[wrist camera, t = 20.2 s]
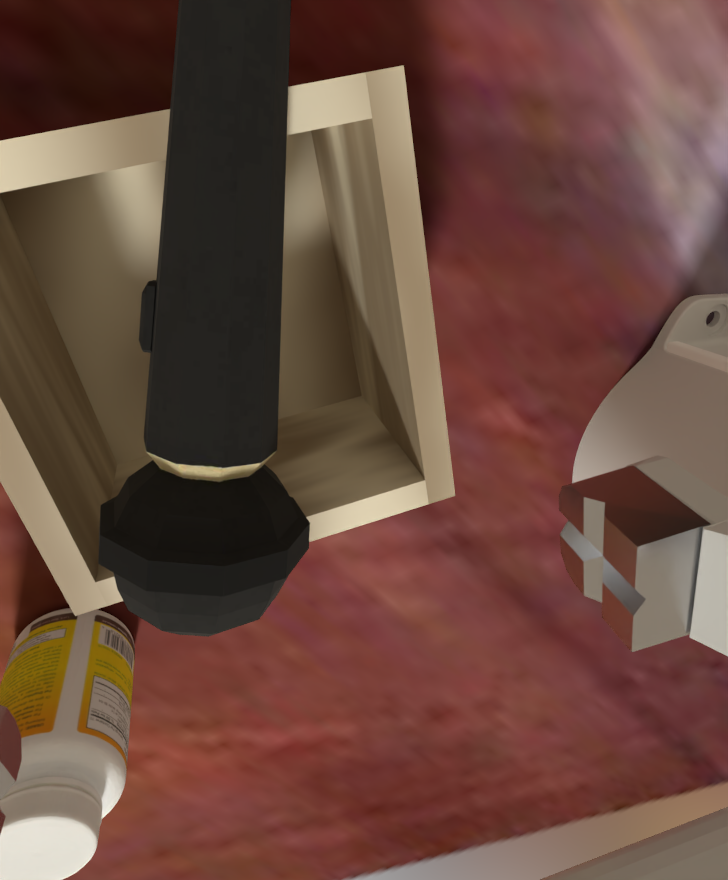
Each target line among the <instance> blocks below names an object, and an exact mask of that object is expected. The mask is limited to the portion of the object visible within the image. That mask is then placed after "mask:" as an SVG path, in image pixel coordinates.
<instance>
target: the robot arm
mask: <svg viewBox="0 0 728 880" xmlns="http://www.w3.org/2000/svg"><path fill="white" fill-rule="evenodd" d="M713 311H714V318H713V320H712V321H711V322H710V323H709V324H706V319H707V317H708V315H709V314H710V313H711V312H713ZM559 511H560V512H561V513H562V514H563V515H564V516H565V517H566V518H567V519H568V522H567V524H566V525H565V527H564V529H563V530H562V532H561V533H560V546H561V554H562V557H563V560H564V563H565V567H566V570H567V572H568V573H569V575H570V577H571V579H572V580H573V582H574V584H575V585H576V586H577V587H578V589H579V590H580V591H581V592H582V594H583V595H584V596H587V597H589V598H592V599H594V600H597V601H599V602H602V618H603V619H604V620H605V621H606V622H607V624H608V625H609V626H610V627H611V628H612V630H613V631H614V632H615V633H616V634H617V635H618V637H619V638H620V639H621V640H622V641H623V643H624V644H625V645H626V646H627V647H628V648H629V650H630V651H631V652H634V651H637V650H640V649H643V648H647V647H650V646H653V645H656V644H659V643H663V642H666V641H669V640H672V639H676V638H679V637H682V636H685V635H688V634H690V638H692V639H694V640H696V641H698V642H700V643H702V644H704V645H706V646H708V647H710V648H712V649H714V650H716V651H718V652H720V653H722V654H724V655H726V656H728V293H726V294H708V295H695V296H691V297H688V298H686V299H685V300H683V301H682V302H681V303H680V304H679V305H678V306H677V307H676V308H675V309H674V311H673V312H672V314H671V315H670V317H669V318H668V320H667V321H666V323H665V324H664V326H663V328H662V330H661V331H660V333H659V335H658V337H657V338H656V340H655V342H654V344H653V346H652V347H651V349H650V350H649V351H648V352H647V353H646V355H645V356H644V357H643V358H642V359H641V360H640V361H639V362H638V363H637V364H636V365H635V366H634V367H633V368H632V369H631V370H630V371H629V372H628V373H627V374H626V375H625V376H624V377H623V378H622V379H621V380H620V381H619V382H618V383H617V384H616V385H615V386H614V388H613V389H612V390H611V391H610V392H609V394H608V395H607V396H606V398H605V399H604V400H603V402H602V403H601V405H600V406H599V407H598V409H597V410H596V412H595V414H594V415H593V417H592V419H591V420H590V422H589V424H588V426H587V428H586V430H585V432H584V435H583V437H582V439H581V442H580V445H579V448H578V451H577V454H576V458H575V463H574V468H573V478H572V483H571V484H568V485H565V486H562V488H561V491H560V494H559ZM21 761H22V748H21V734H20V731H19V728H18V725H17V722H16V720H15V718H14V717H13V715H12V714H11V712H10V711H9V710H8V708H7V707H5V706H2V705H0V800H1V799H2V798H3V797H4V795H5V794H6V793H7V792H8V791H9V789H10V788H11V787H12V786H13V785H14V783H15V782H16V779H17V776H18V772H19V768H20V764H21ZM5 817H6V816H5V814H4V813H3V811H2V809H1V807H0V834H1V831H2V827H3V824H4V821H5ZM540 880H728V807H726V808H724V809H721V810H719V811H716V812H714V813H711V814H709V815H706V816H703V817H701V818H698V819H696V820H693V821H690V822H688V823H685V824H683V825H680V826H677V827H675V828H672V829H670V830H667V831H664V832H662V833H659V834H657V835H654V836H652V837H649V838H646V839H644V840H641V841H639V842H636V843H634V844H631V845H628V846H626V847H623V848H621V849H618V850H615V851H613V852H610V853H608V854H605V855H602V856H600V857H597V858H595V859H592V860H590V861H587V862H584V863H582V864H580V865H577V866H574V867H571V868H569V869H566V870H564V871H561V872H559V873H556V874H553V875H551V876H548V877H546V878H543V879H540Z"/></svg>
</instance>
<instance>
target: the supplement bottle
mask: <svg viewBox="0 0 728 880" xmlns="http://www.w3.org/2000/svg"><path fill="white" fill-rule="evenodd" d="M134 659H135V647H134V641H133V638H132V635H131V633H130V631H129V630H128V628H127V627H126V626H125V625H124V624H123V623H122V622H121V621H120V620H119V619H117V618H116V617H114V616H112V615H110V614H108V613H106V612H103V611H100V610H93V611H90V612H87V613H84V614H81V615H77V616H75V615H74V613H73V611H72V610H71V608H66V609H61V610H57V611H53V612H50V613H48V614H45V615H43V616H41V617H39V618H38V619H36V620H34V621H33V622H32V623H30V624H29V625H28V626H27V627H26V628H25V629H24V630H23V631H22V632H21V633H20V635H19V636H18V638H17V639H16V641H15V643H14V645H13V648H12V651H11V654H10V657H9V660H8V663H7V666H6V669H5V673H4V676H3V679H2V682H1V685H0V705H2V706H5V707H7V708H8V710H9V711H10V712H11V714H12V715H13V717H14V718H15V720H16V722H17V725H18V728H19V731H20V734H21V748H22V761H21V764H20V768H19V772H18V776H17V779H16V782H15V783H14V785H13V786H12V787H11V788H10V789H9V791H8V792H7V793H6V794H5V795H4V797H3V798H2V799H1V800H0V807H1V809H2V811H3V813H4V814H5V816H6V817H5V821H4V824H3V827H2V831H1V834H0V880H63V879H65V878H67V877H69V876H71V875H73V874H74V873H76V872H77V871H79V870H80V869H81V868H82V867H84V866H85V865H86V864H87V863H88V862H89V860H90V859H91V858H92V856H93V854H94V853H95V850H96V847H97V843H98V836H99V828H100V825H101V821H102V818H103V817H105V816H106V815H107V814H108V813H109V812H110V811H111V810H112V808H113V807H114V806H115V805H116V803H117V802H118V800H119V798H120V796H121V794H122V792H123V789H124V785H125V780H126V771H127V757H128V742H129V728H130V714H131V700H132V686H133V672H134Z"/></svg>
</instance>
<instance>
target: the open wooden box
mask: <svg viewBox="0 0 728 880" xmlns="http://www.w3.org/2000/svg"><path fill="white" fill-rule="evenodd" d="M169 118H170V109H167V110H162V111H157V112H151V113H146V114H140V115H135V116H130V117H124V118H119V119H114V120H108V121H103V122H98V123H92V124H87V125H82V126H76V127H71V128H66V129H60V130H55V131H49V132H44V133H39V134H33V135H28V136H23V137H17V138H12V139H7V140H1V141H0V482H1V483H2V485H3V487H4V489H5V491H6V492H7V494H8V496H9V498H10V500H11V501H12V503H13V505H14V507H15V509H16V510H17V512H18V514H19V516H20V518H21V520H22V521H23V523H24V525H25V527H26V529H27V530H28V532H29V534H30V536H31V538H32V539H33V541H34V543H35V545H36V547H37V548H38V550H39V552H40V554H41V556H42V557H43V559H44V561H45V563H46V565H47V566H48V568H49V570H50V572H51V574H52V575H53V577H54V579H55V581H56V583H57V584H58V586H59V588H60V590H61V592H62V593H63V595H64V597H65V599H66V601H67V602H68V604H69V606H70V608H71V610H72V611H73V613H74V615H75V616H77V615H81V614H84V613H87V612H90V611H93V610H96V609H99V608H103V607H106V606H109V605H112V604H115V603H118V602H121V601H123V599H122V597H121V595H120V593H119V591H118V589H117V585H116V581H115V577H114V573H113V572H112V571H110V570H108V569H106V568H105V567H103V566H101V565H99V564H98V556H99V525H100V508H101V505H102V504H103V503H105V502H107V501H109V500H110V499H112V498H114V497H116V496H118V494H119V492H120V490H121V489H122V487H123V485H124V483H125V482H126V480H127V478H128V477H129V476H131V475H132V474H134V473H135V472H136V471H138V470H139V469H141V468H142V467H144V466H145V465H146V464H148V463H149V462H151V461H152V460H153V459H152V458H151V457H150V456H149V455H148V453H147V452H146V448H145V443H144V426H145V414H146V401H147V389H148V377H149V364H150V353H148V352H143V351H142V349H141V346H140V342H139V329H140V313H141V298H142V292H143V290H144V288H145V286H146V285H147V283H148V281H152V280H156V278H157V266H158V253H159V241H160V229H161V217H162V204H163V192H164V180H165V167H166V155H167V143H168V130H169ZM265 465H266V466H267V467H268V468H269V469H271V470H272V471H273V472H274V473H275V474H276V475H277V477H278V478H279V480H280V481H281V483H282V484H283V486H284V487H285V489H286V490H287V492H288V494H289V496H291V497H293V498H294V500H295V501H296V503H297V504H298V506H299V507H300V509H301V510H302V512H303V513H304V515H305V516H306V518H307V519H308V521H309V522H310V532H309V542H311V541H314V540H317V539H320V538H323V537H326V536H330V535H333V534H336V533H339V532H342V531H345V530H348V529H352V528H355V527H358V526H361V525H364V524H367V523H370V522H374V521H377V520H380V519H383V518H386V517H389V516H393V515H396V514H399V513H402V512H405V511H408V510H411V509H415V508H418V507H421V506H424V505H427V504H430V503H434V502H437V501H440V500H443V499H446V498H449V497H452V496H455V490H454V482H453V473H452V465H451V456H450V448H449V440H448V431H447V423H446V415H445V406H444V398H443V390H442V381H441V373H440V364H439V356H438V348H437V339H436V331H435V323H434V314H433V306H432V298H431V289H430V281H429V273H428V264H427V256H426V247H425V239H424V231H423V222H422V214H421V206H420V197H419V189H418V181H417V172H416V164H415V155H414V147H413V139H412V130H411V122H410V114H409V105H408V97H407V89H406V80H405V72H404V65H403V66H397V67H392V68H387V69H381V70H376V71H371V72H365V73H360V74H355V75H349V76H344V77H339V78H333V79H328V80H322V81H317V82H312V83H306V84H301V85H296V86H290V87H288V111H287V144H286V177H285V210H284V242H283V275H282V308H281V341H280V374H279V407H278V440H277V451H276V452H275V454H274V455H273V456H272V457H271V458H270V459H269V460H268V461H267V462H266V463H265Z"/></svg>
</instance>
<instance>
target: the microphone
mask: <svg viewBox="0 0 728 880" xmlns="http://www.w3.org/2000/svg"><path fill="white" fill-rule="evenodd" d="M290 12H291V0H179V7H178V20H177V32H176V44H175V56H174V69H173V81H172V93H171V106H170V118H169V130H168V143H167V155H166V167H165V180H164V192H163V204H162V217H161V229H160V241H159V253H158V266H157V278H156V280H152V281H148V283H147V285H146V286H145V288H144V290H143V292H142V298H141V313H140V329H139V342H140V346H141V349H142V351H143V352H148V353H150V364H149V377H148V389H147V401H146V414H145V426H144V443H145V448H146V452H147V453H148V455H149V456H150V457H151V458H152V459H153V460H152V461H151V462H149V463H148V464H146V465H145V466H144V467H142V468H141V469H139V470H138V471H136V472H135V473H134V474H132V475H131V476H129V477H128V478H127V480H126V482H125V483H124V485H123V487H122V489H121V490H120V492H119V494H118V496H116V497H114V498H112V499H110V500H109V501H107V502H105V503H103V504H102V505H101V508H100V525H99V556H98V564H99V565H101V566H103V567H105V568H106V569H108V570H110V571H112V572H113V573H114V577H115V581H116V585H117V589H118V591H119V593H120V595H121V597H122V599H123V601H124V603H125V605H126V607H127V608H128V610H129V611H130V612H132V613H134V614H135V615H137V616H139V617H140V618H142V619H144V620H145V621H147V622H149V623H150V624H152V625H154V626H155V627H157V628H158V629H160V630H162V631H165V632H170V633H175V634H179V635H195V636H211V635H214V634H217V633H220V632H223V631H226V630H229V629H232V628H235V627H238V626H241V625H243V624H246V623H249V622H252V621H255V620H258V619H260V617H261V616H262V615H263V613H264V612H265V610H266V609H267V608H268V606H269V605H270V604H271V602H272V601H273V600H274V598H275V597H276V596H277V594H278V592H279V591H280V589H281V587H282V586H283V584H284V582H285V580H286V579H287V577H288V575H289V574H290V572H291V571H292V570H293V568H294V567H295V566H296V564H297V563H298V562H299V560H300V559H301V558H302V556H303V555H304V554H305V552H306V551H307V550H308V548H309V532H310V522H309V521H308V519H307V518H306V516H305V515H304V513H303V512H302V510H301V509H300V507H299V506H298V504H297V503H296V501H295V500H294V498H293V497H291V496H289V494H288V492H287V490H286V489H285V487H284V486H283V484H282V483H281V481H280V480H279V478H278V477H277V475H276V474H275V473H274V472H273V471H272V470H271V469H269V468H268V467H267V466H266V465H265V463H266V462H267V461H268V460H269V459H270V458H271V457H272V456H273V455H274V454H275V452H276V451H277V440H278V407H279V374H280V341H281V308H282V275H283V242H284V210H285V177H286V144H287V111H288V78H289V45H290Z"/></svg>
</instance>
